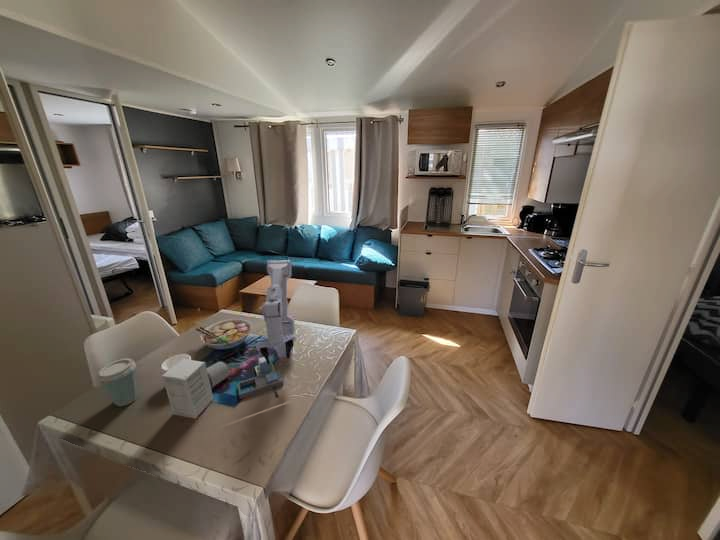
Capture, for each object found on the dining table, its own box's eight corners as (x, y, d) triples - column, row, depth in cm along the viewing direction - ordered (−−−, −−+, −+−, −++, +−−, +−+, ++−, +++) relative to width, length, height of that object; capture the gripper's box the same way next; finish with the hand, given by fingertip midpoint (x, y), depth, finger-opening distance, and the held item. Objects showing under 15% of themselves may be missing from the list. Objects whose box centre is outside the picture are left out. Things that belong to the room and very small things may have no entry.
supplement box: (214, 399, 102) (206, 361, 97) (195, 419, 94) (185, 379, 88) (192, 394, 104) (183, 357, 99) (172, 414, 96) (160, 375, 90)
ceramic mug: (232, 377, 113) (229, 362, 110) (214, 391, 106) (210, 374, 104) (215, 370, 118) (212, 354, 115) (197, 382, 111) (193, 366, 108)
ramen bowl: (265, 340, 138) (263, 326, 135) (222, 365, 120) (219, 350, 117) (234, 325, 151) (232, 312, 148) (191, 346, 132) (188, 332, 130)
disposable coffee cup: (105, 415, 95) (91, 380, 90) (111, 395, 103) (98, 362, 98) (143, 403, 100) (132, 369, 95) (146, 384, 109) (136, 352, 104)
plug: (259, 370, 117) (257, 358, 114) (269, 367, 118) (267, 355, 116) (261, 376, 113) (259, 363, 111) (271, 372, 115) (269, 360, 113)
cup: (163, 381, 111) (157, 362, 108) (190, 368, 118) (186, 350, 114) (170, 394, 104) (164, 374, 101) (199, 380, 111) (194, 361, 108)
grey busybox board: (238, 387, 108) (237, 381, 107) (279, 374, 115) (278, 368, 114) (241, 411, 97) (240, 404, 96) (286, 395, 105) (286, 388, 103)
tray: (255, 370, 117) (254, 366, 117) (272, 365, 120) (271, 361, 120) (258, 380, 112) (257, 377, 111) (275, 375, 115) (275, 371, 114)
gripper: (256, 340, 98) (260, 371, 102) (296, 330, 104) (299, 360, 109) (253, 331, 103) (257, 360, 108) (291, 321, 110) (293, 350, 115)
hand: (278, 359), depth 109 cm, fingers open, 7 cm apart
